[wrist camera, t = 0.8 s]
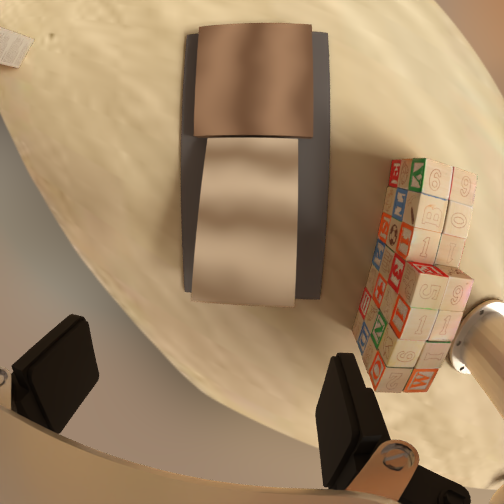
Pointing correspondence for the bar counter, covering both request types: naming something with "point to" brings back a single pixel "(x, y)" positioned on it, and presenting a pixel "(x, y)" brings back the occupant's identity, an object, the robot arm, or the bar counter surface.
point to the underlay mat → (309, 173)
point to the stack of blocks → (416, 275)
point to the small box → (13, 47)
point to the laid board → (254, 81)
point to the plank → (247, 223)
